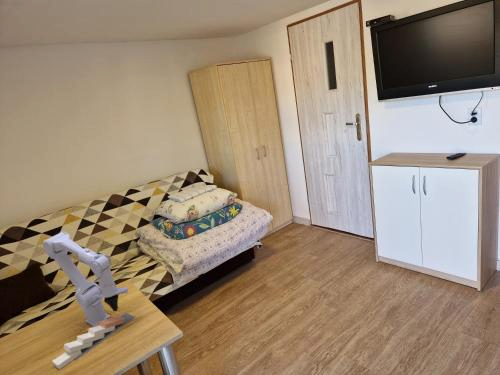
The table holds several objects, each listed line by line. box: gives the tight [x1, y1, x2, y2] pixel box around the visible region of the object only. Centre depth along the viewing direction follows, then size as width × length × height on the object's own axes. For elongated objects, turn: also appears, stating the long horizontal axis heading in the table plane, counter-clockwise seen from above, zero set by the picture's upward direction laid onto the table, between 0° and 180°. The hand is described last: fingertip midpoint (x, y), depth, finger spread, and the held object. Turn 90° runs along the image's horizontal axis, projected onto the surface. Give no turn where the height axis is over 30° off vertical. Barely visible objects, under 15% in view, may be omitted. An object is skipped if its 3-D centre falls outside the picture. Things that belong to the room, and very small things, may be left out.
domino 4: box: [87, 325, 115, 336], centre depth 146 cm, size 5×2×9 cm
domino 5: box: [98, 315, 125, 329], centre depth 149 cm, size 5×2×9 cm
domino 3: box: [76, 332, 104, 344], centre depth 142 cm, size 5×2×9 cm
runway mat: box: [75, 312, 136, 360], centre depth 146 cm, size 8×27×1 cm, turn 143°
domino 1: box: [63, 340, 93, 353], centre depth 138 cm, size 5×2×9 cm
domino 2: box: [51, 350, 82, 370], centre depth 135 cm, size 5×2×9 cm
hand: (115, 309), depth 151 cm, fingers closed
